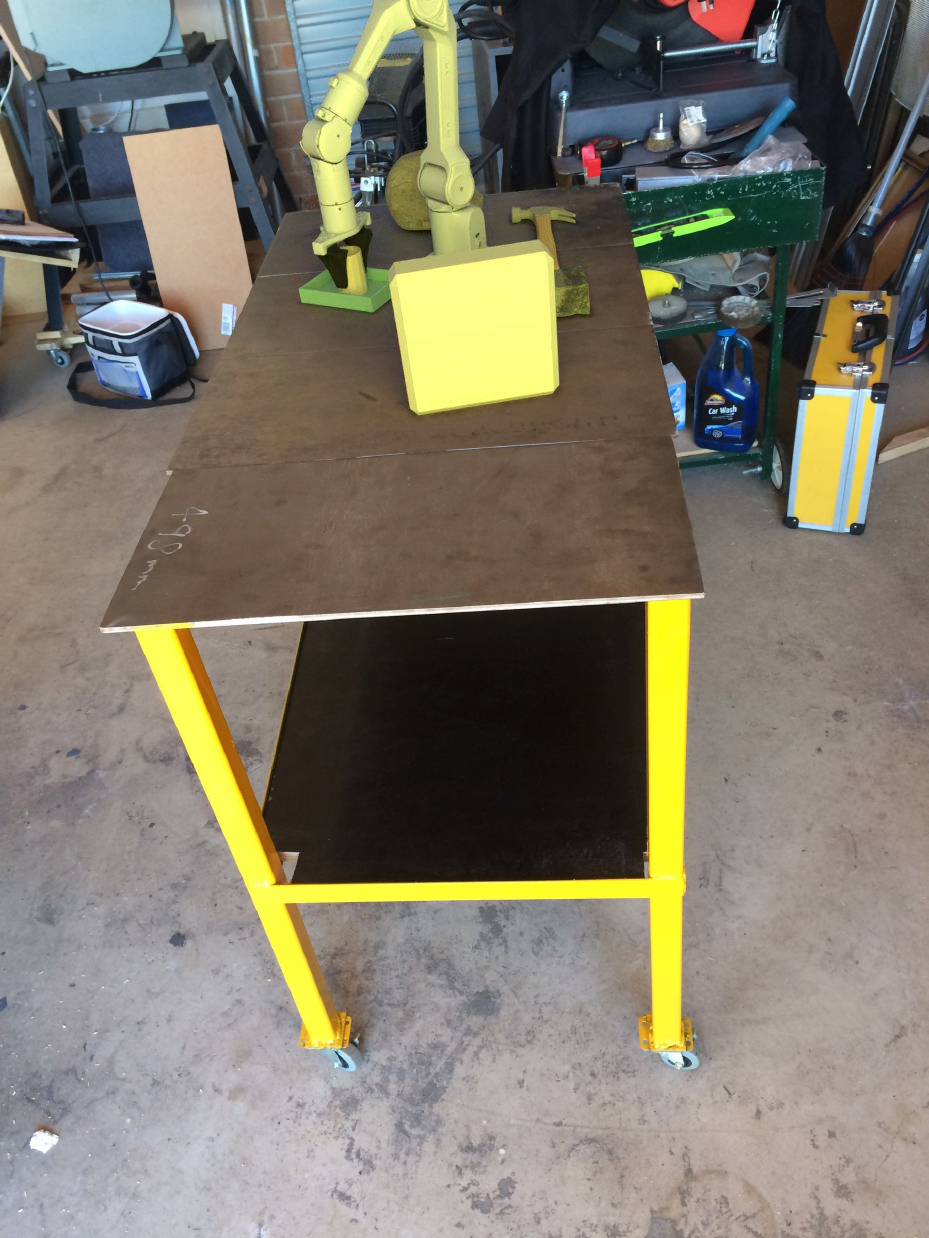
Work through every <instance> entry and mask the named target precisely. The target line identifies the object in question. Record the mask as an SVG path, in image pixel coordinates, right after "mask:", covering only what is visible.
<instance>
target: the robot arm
mask: <svg viewBox="0 0 929 1238" xmlns="http://www.w3.org/2000/svg"><path fill="white" fill-rule="evenodd" d="M410 30H412V31H413V32H414V33H415V34H416V35H417V36H418V37H419V38H420V39H421V41H422V47H423V48H422V50H423V73H424V93H425V116H426V118H425V120H426V139H427V146H426V148H424V149H425V150H424V151H423V153H422V154H421V156H420V159H421V165H420V170H419V173H418V177H417V185H418V189H419V191H420V193H421V194H422V195H423V196H424V197H426V203H427V204H428V210H429V218H430V225H431V230H430V232H431V240H432V247H433V251H432V252H430V253H428V254H427V255H426V256H425V257H430V256H437V255H443V254H449V253H456V252H462V251H468V250H475V249H481V248H488V247H490V246H489V245H488V244H487V243H488V241H487V233H486V223H485V221H486V220H485V215H484V211H483V209H482V210H481V208H479V207H476V206H473V205H471V204H470V200H471V199H472V197H473V194H474V189H476V186H475V183H476V182H475V179H474V176H473V173H472V174H471V171H470V169H471V161H470V159H469V157H468V155H466V152H465V151H464V150H463V149H462V147H461V145H460V119H459V118H460V116H459V113H460V112H459V110H460V109H459V77H458V76H459V73H458V71H459V70H458V69H459V68H458V33H457V31H458V30H457V23H456V20H455V17H454V15H453V11H452V8H451V7H450V4H449V0H372V8H371V12H370V15H369V16H368V19H367V21H366V24H365V27H364V28H363V31H362V33H361V35H360V38H359V41H358V43H357V45H356V48H355V50H354V52H353V55H352V57H351V60H350V62H349V64H348V66H347V68H346V69H344V70H340V71H338V72H336V73H335V75H334V76H330V78H329V80H328V82H327V85H328V86H329V88H328V89H327V91H326V94H325V96H324V97H323V99H322V101H321V103H320V106H319V107H318V108H316V110H315V112H314V116H315V117H314V118H312V119H310V120H308V121H307V122H306V124H305V125H304V126H303V129H302V133H301V140H300V141H299V145H300V148H301V150H302V151H303V152H304V154H305V155H307V157H308V158H309V161H310V165H311V170H312V174H313V179H314V185H315V189H316V194H317V199H318V203H319V208H320V213H321V218H322V223H323V224H322V225H320V226H319V229H320V233H319V235H318V237H317V238H316V239H315V240H314V241H312V242H311V245H312V249H313V254H314V255H315V256H316V257H317V258H318V259H319V260H320V261H321V262H322V264H323V265H324V266H325V268H326V269H328V271H329V273H330V275H331V277H332V279H333V281H334V283H335V285H336V287H337V288H341V289H346V288H348V276H347V254H348V250H347V249H340V247H341V246H338V244H340V243H341V242H342V241H343V242H344V245H345V246H357V247H359V248H360V249H361V252H362V257H363V263H364V268H365V274H366V273H367V267H368V257H369V249H370V245H371V241H372V239H373V236H374V234H373V230H372V229H369V228H366V227H365V226H370V225H371V224H372V218H371V212H370V211H358V212H357V209H356V203H355V198H354V194H353V187H352V182H351V176H350V171H349V165H348V160H347V155H348V154H349V153H350V152H351V149H352V148H351V147H352V138H351V135H352V132H353V130H352V129H353V128H354V125H355V124H356V122H357V120H358V118H359V116H360V114H361V112H362V111H363V108H364V106H365V104H366V102H367V100H368V98H369V95H370V93H369V88H368V81H369V79H370V78H371V76H372V74H373V72H374V71H375V69H376V67H377V65H378V64H379V62H380V60H381V59H382V57H383V55H384V53H385V52H386V50H387V48H388V46H389V45H390V43H391V41H392V40H393V38H394V36H396V35H399V34H401V33H404V32H407V31H410Z"/></svg>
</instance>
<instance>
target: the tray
mask: <svg viewBox="0 0 929 1238" xmlns="http://www.w3.org/2000/svg"><path fill="white" fill-rule="evenodd" d="M388 271H389V269H384V268H377V267H376V268H375V267H368V266H367V273H366V279H367V285H368V286H367V287H368V290H367V292H366V293H364V294H363V295H354V294H347V293H339V292H338V290H337V287H336V285H335V283H334V281H333V279H332V277H331V275H330V273H329V271H328V269H327V268H326V269H325V270H323V271H322V272H320V273H319V274H318V275H316V276H314V277H313V278H312V279H311V280H309V281H308V282H306V283H305V284H303V285H301V286H300V287H299V288H298V294H299V298H300V302H301V303H303V304H311V305H316V306H325V307H331V308H339V309H345V310H354V311H360V312H368V313H374V312H375V311H377V310H378V309H379V308H381V307H382V306H384V305H385V304H386V303H387V302H388V301H389V300H392V297H391V291H390V285H389V279H388Z"/></svg>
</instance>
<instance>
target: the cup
mask: <svg viewBox="0 0 929 1238" xmlns="http://www.w3.org/2000/svg"><path fill="white" fill-rule="evenodd" d="M339 247H340V249H347V250H348V254H347V276H348V288H346V289H341V288H337V290H338V292H339V293H347V294H354V295H363V294H364V293H366V292H367V290H368V287H367V286H368V285H367V279H366V274H365V268H364V263H363V257H362V252H361V249H360V248H359V247H357V246H346V245H345V246H344V245H343V246H339Z"/></svg>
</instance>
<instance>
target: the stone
mask: <svg viewBox="0 0 929 1238" xmlns="http://www.w3.org/2000/svg"><path fill="white" fill-rule="evenodd" d="M425 149H426V148H423V149H419V150H415V151H412V152H408V153H406V154H403V155H401V156H400V157H399V158H398V159H397V160H396V161H395V163H394V164H393V165H392V166H391V168H390V170H389V172H388V173H387V177H386V181H385V187H384V188H385V189H384V199H385V203H386V207H387V210H388V211H389V214H390V216H391V217H392V220H394V222H395V224H396V225H397V226H398V227H399V228H401V229H402V230H406V231H431V225H430V218H429V210H428V204H427V203H426V197H424V196H423V195H422V194H421V193H420V191H419V189H418V185H417V177H418V173H419V170H420V165H421V159H420V156H421V154H422V153H423V151H424V150H425ZM470 171H471V174H472V175H473V170H472V168H470ZM470 204H471V205H473V206H476V207H479V208H481V210H482V211H483V205H484V196H483V195H482V193H481V192H480V191H479V190H477V188H475V189H474V194H473V197H472V199H471V200H470Z"/></svg>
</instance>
